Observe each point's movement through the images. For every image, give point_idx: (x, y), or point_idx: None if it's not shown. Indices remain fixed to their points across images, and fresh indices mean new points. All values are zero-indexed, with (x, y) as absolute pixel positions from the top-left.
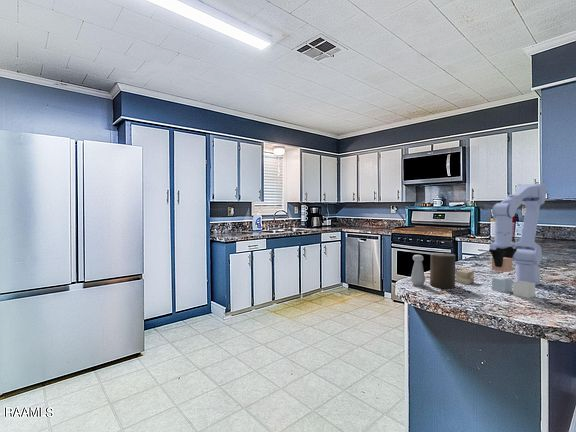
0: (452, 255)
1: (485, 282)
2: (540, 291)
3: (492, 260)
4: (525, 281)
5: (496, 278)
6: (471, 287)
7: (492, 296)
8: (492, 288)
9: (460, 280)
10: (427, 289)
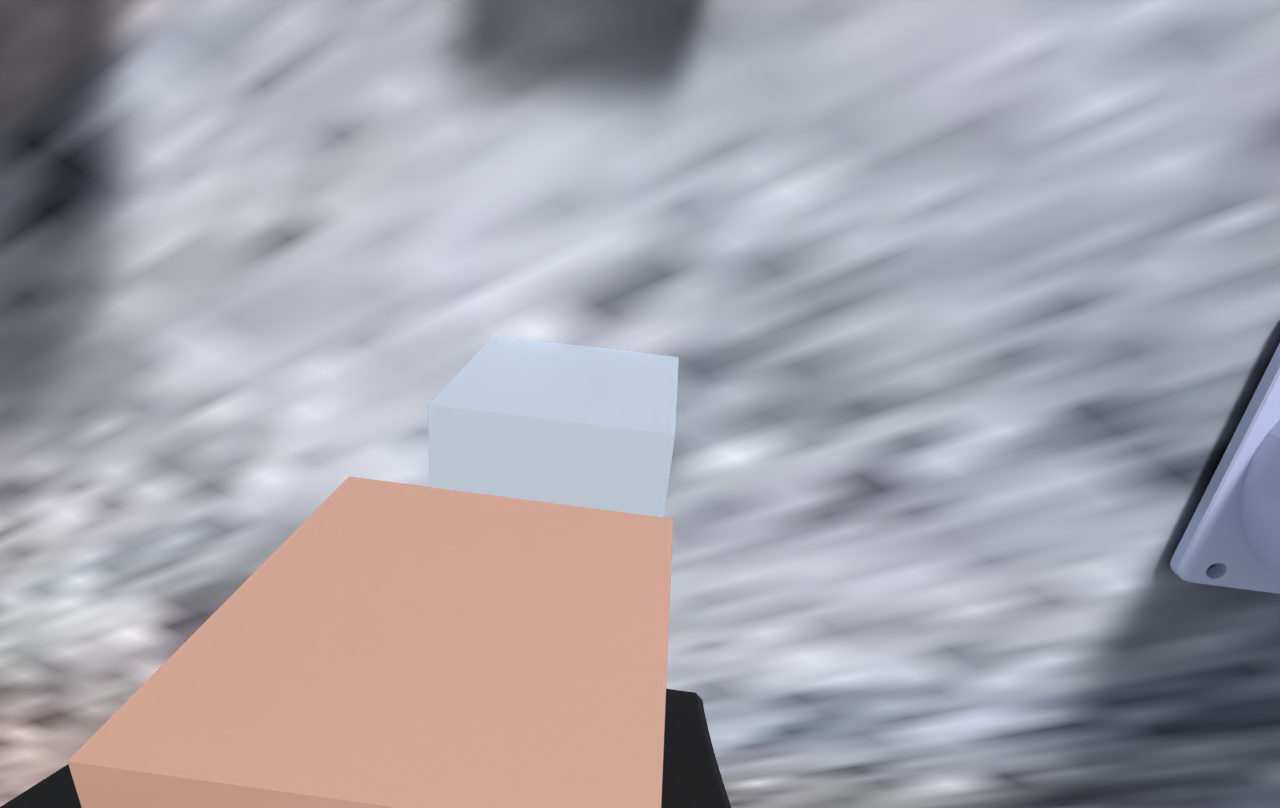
0: None
1: (955, 4)
2: (931, 695)
3: (176, 667)
4: (1271, 530)
5: (449, 469)
6: (334, 65)
7: (183, 478)
8: (489, 346)
9: None
10: None
